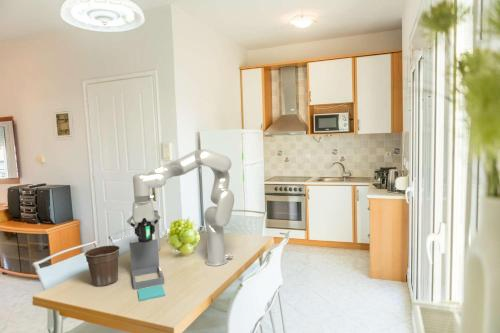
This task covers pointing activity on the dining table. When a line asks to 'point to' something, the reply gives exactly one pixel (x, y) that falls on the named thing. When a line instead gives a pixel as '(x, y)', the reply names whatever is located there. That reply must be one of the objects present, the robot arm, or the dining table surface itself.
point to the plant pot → (103, 264)
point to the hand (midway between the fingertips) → (145, 234)
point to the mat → (151, 292)
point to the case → (145, 263)
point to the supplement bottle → (144, 231)
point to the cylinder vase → (157, 230)
